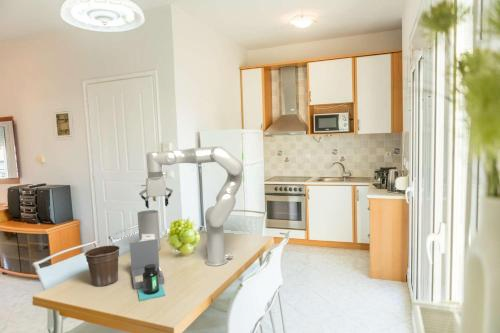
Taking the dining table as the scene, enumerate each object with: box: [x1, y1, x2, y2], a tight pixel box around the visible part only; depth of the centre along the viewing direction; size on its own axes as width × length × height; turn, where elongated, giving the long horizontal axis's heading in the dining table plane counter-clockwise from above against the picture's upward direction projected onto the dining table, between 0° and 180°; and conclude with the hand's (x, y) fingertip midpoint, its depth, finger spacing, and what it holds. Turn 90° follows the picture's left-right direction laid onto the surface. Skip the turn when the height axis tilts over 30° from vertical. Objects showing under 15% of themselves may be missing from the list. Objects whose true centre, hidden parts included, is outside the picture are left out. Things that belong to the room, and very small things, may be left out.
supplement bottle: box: [142, 264, 160, 295], centre depth 152 cm, size 7×7×12 cm
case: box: [129, 239, 165, 290], centre depth 168 cm, size 14×20×17 cm
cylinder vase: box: [137, 209, 161, 252], centre depth 213 cm, size 12×12×25 cm
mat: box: [137, 284, 166, 302], centre depth 152 cm, size 11×11×1 cm
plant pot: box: [83, 245, 121, 287], centre depth 167 cm, size 16×16×16 cm
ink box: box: [138, 234, 155, 242], centre depth 197 cm, size 9×5×15 cm, turn 84°
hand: (157, 207), depth 178 cm, fingers open, 9 cm apart
